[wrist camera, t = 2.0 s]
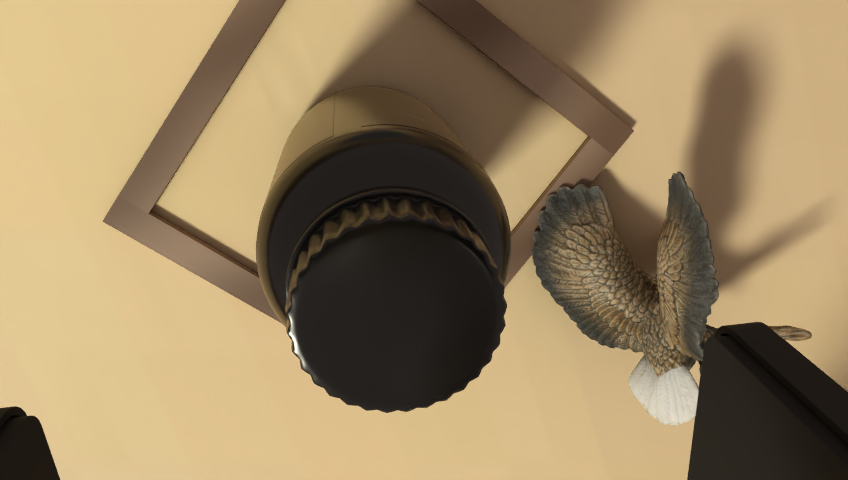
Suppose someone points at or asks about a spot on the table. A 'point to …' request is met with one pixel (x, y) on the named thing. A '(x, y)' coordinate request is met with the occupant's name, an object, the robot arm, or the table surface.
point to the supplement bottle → (384, 252)
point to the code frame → (228, 58)
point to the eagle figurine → (637, 290)
